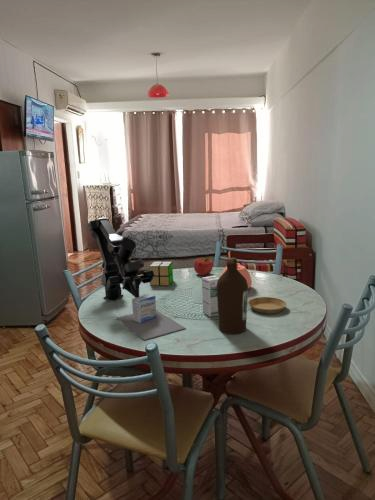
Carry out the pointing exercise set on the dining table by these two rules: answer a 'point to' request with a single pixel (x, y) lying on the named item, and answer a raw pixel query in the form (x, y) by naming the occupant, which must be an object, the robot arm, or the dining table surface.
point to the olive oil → (232, 299)
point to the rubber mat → (151, 326)
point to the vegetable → (203, 266)
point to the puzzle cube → (162, 273)
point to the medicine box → (144, 308)
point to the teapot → (243, 272)
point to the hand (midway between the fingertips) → (138, 298)
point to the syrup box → (210, 295)
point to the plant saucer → (267, 304)
